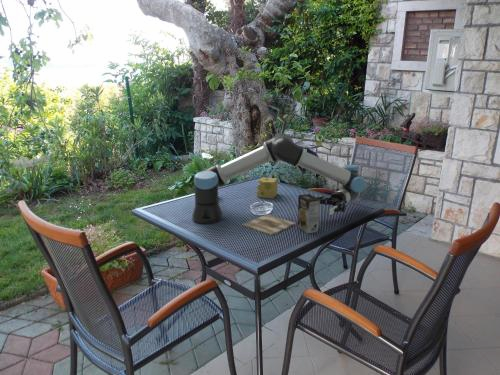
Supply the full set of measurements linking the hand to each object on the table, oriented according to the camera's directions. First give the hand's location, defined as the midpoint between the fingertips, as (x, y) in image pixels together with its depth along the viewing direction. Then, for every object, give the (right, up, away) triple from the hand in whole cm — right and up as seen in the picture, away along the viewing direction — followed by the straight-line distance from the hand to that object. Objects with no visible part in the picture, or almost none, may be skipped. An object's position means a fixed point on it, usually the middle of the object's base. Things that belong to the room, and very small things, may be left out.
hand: (317, 208), depth 192 cm
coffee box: (-5, -10, -2) cm, 11 cm away
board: (-23, -8, +4) cm, 24 cm away
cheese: (-21, +5, +49) cm, 54 cm away
